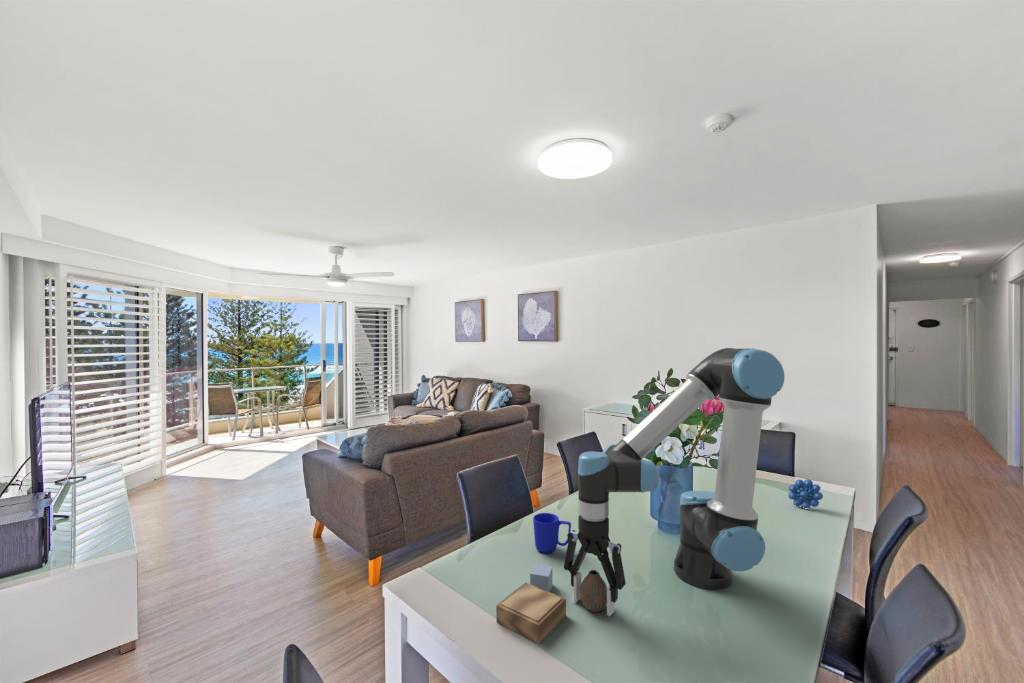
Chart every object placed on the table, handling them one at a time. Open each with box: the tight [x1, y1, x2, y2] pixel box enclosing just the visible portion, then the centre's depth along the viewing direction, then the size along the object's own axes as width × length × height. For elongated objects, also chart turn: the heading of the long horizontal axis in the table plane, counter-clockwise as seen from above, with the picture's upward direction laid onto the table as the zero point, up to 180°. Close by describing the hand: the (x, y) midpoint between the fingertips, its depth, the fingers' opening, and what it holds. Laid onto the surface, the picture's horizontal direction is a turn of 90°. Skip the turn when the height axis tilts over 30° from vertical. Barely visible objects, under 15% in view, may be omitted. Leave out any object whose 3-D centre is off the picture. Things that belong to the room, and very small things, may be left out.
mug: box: [532, 512, 572, 554], centre depth 137 cm, size 8×12×10 cm
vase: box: [580, 569, 608, 613], centre depth 107 cm, size 7×7×9 cm
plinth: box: [495, 582, 567, 644], centre depth 103 cm, size 12×12×4 cm
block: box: [529, 563, 554, 593], centre depth 115 cm, size 5×5×5 cm
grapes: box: [787, 478, 824, 509], centre depth 169 cm, size 12×7×12 cm, turn 41°
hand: (593, 606), depth 107 cm, fingers open, 8 cm apart
